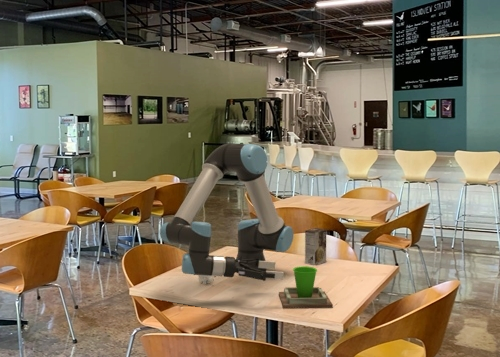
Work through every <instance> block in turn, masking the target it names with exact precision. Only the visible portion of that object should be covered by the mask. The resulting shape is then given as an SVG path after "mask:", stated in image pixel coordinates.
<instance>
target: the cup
mask: <svg viewBox="0 0 500 357" xmlns="http://www.w3.org/2000/svg"><path fill="white" fill-rule="evenodd" d="M292 271H293V272H294V280H295V287H296V288H297V295H298V298H311V297H312V292H313V287H315V286H314V285H315V280H316V275H317V272H318V269H317V268H316V267H313V266H306V265H305V266H304V265H303V266H301V265H300V266H296V267H294V268H293V269H292Z"/></svg>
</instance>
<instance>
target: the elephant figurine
mask: <svg viewBox="0 0 500 357" xmlns="http://www.w3.org/2000/svg"><path fill="white" fill-rule="evenodd" d="M198 281H199V283H200V284H202V285H207V284H211V283H212V282H213V281H214V276H206V275H198Z"/></svg>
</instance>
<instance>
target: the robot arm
mask: <svg viewBox="0 0 500 357" xmlns="http://www.w3.org/2000/svg"><path fill="white" fill-rule="evenodd" d="M267 161H268V156H267V153H266V150H265V149H264V148H263V147H262V146H260V145H258V144H253V143H224V144H222V145H220V146H218V147H217V148H215V149H214V150H213V151H212V152H211V153H210V154H209V155H208V156H207V158H206V159H205V161H204V162H203V164H202V165H201V171H200V174H199V175H198V177H197V178H196V180H195V182H194V183H193V185H192V187H191V188H190V190H189V192H188V193H187V195H186V197H185V198H184V200H183V202H182V203H181V205H180V206H179V208H178V210H177V212H176V213H175V215H174V216H173V218H172V219H171V222H167V221H166V222H164V223H163V224H162V225H161V227H160V228H159V235H160V238H161V240H163V242H166V243H170V244H176V245H183V246H187V247H188V252H187V253H183V255H182V261H181V272H182V273H183V274H185V275H186V274H187V275H193V276H195V275H196V276H199V275H206V276H213V278H216V277H224V278H233V277H234V276H235V273H237V274H238V276H239V277H246V278H251V279H255V280H260V281H263V282H265V281H266V280H268V279H270V280H281V281H283V280H284V274H285V273H284V271H274V270H275V269H276V263H277V262H276V261H268V260H266V257H265V255H264V250H267V251H271V252H276V253H286V252H287V251H288V250H289V249H290V248H291V247H292V243H293V240H294V230H293V227H291V226H289V225H286V223H285V221H284V219H283V218H282V217H281V216H279V215H278V212H277V208H276V207H275V203H274V201H273V198H272V195H271V192H270V189H269V187H268V184H267V181H266V178H265V176H264V175H265V172H266V169H267V167H268V162H267ZM229 172H231V173H235V174H236V176H237V180H239V182H241V183H244V185H245V186H244V187H245V189H246V191H247V194H248V197H249V198H250V199H249V200H250V202H251V205H252V207H253V208H254V209H253V210H254V212H255V215H256V217H257V218H250V219H243V220H241V221H239V222H238V224H237V225H238V226H237V253H236V254H237V255H236V258H235V257H234V256H225V257H224V256H223V255H210V247H211V238H212V225H211V223H210V222H207V221H206V222H204V221H195V220H196V219H197V217H198V215H199V213H200V212H201V210H202V208H203V206H204V205H205V203H206V201H207V200H208V198H209V196H210V194H211V193H212V191H213V189H214V188H215V186H216V184H217V183H218V181H219V180H220V179H223V177H224V175H225V174H227V173H229ZM268 269H269V270H268Z"/></svg>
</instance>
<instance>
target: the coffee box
mask: <svg viewBox="0 0 500 357" xmlns="http://www.w3.org/2000/svg"><path fill="white" fill-rule="evenodd" d="M304 232H305V233H304V237H305V238H304V242H305V243H304V246H305V247H304V264H307V265H310V266H317V265H321V264H324V263H326V262H327V229H324V228H318V227H315V228H311V229H307V230H305V231H304Z"/></svg>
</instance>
